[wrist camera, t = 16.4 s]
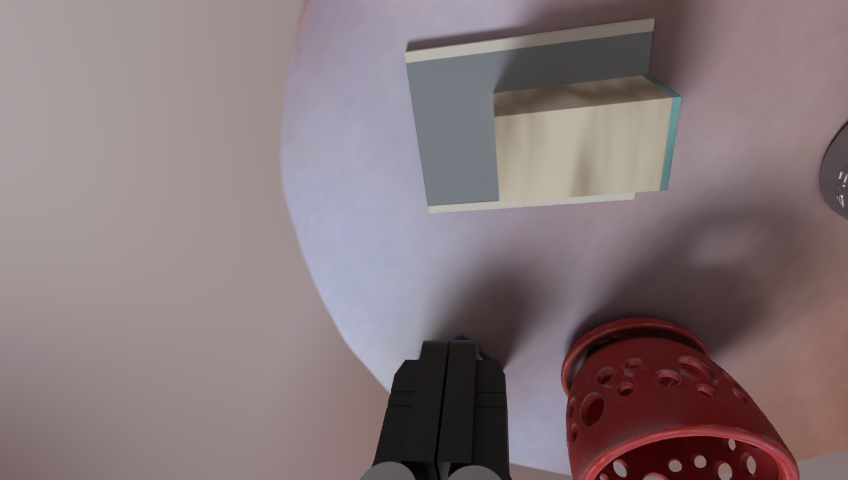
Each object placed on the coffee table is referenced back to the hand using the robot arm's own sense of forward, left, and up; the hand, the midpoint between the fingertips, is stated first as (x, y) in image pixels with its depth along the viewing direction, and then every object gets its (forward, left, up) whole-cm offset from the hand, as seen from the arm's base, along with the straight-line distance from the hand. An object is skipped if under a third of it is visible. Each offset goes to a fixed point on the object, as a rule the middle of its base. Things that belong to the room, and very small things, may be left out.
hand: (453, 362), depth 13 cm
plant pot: (-12, +21, -20) cm, 31 cm away
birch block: (-2, 0, -17) cm, 17 cm away
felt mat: (-3, 0, -20) cm, 20 cm away
